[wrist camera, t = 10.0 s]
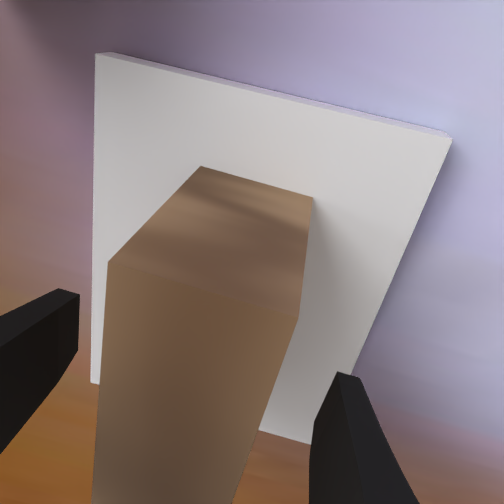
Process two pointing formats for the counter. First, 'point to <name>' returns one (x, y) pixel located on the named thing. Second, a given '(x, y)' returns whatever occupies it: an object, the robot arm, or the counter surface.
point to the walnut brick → (196, 339)
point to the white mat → (275, 174)
